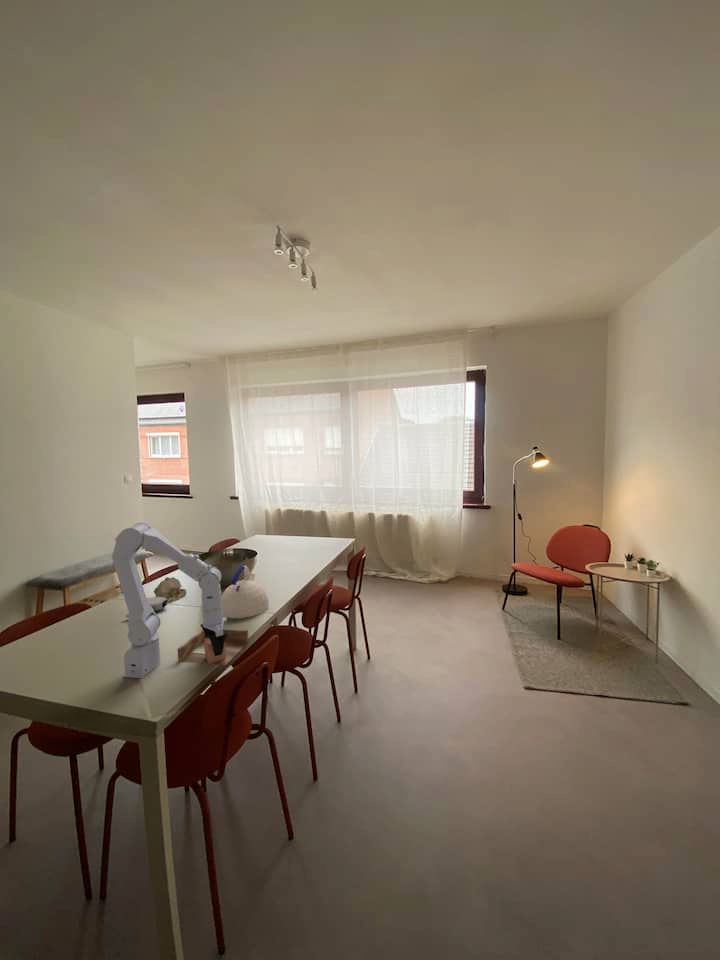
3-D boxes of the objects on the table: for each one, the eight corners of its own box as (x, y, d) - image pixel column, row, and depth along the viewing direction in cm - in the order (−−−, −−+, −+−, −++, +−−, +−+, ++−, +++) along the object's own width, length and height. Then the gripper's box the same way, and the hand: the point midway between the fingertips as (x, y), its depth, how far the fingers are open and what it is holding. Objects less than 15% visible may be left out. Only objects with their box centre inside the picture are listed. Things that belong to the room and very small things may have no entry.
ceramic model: (162, 606, 170) (160, 583, 169) (146, 602, 176) (145, 580, 175) (190, 595, 182) (189, 574, 182) (175, 592, 188) (173, 571, 187)
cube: (225, 658, 123) (224, 639, 122) (209, 663, 120) (207, 644, 120) (221, 652, 127) (220, 634, 127) (205, 657, 124) (203, 638, 124)
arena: (225, 667, 119) (224, 652, 119) (178, 663, 122) (177, 648, 122) (248, 643, 134) (247, 629, 134) (205, 640, 137) (205, 627, 137)
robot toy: (153, 622, 156) (173, 605, 170) (152, 612, 155) (172, 595, 170) (123, 623, 156) (145, 605, 171) (122, 612, 155) (144, 595, 170)
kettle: (275, 599, 174) (273, 559, 173) (259, 619, 153) (256, 574, 152) (231, 599, 176) (229, 559, 175) (209, 618, 156) (206, 574, 154)
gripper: (232, 611, 119) (234, 655, 120) (219, 597, 131) (221, 637, 132) (207, 617, 115) (210, 662, 116) (196, 603, 127) (199, 643, 128)
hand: (215, 649), depth 123 cm, fingers open, 7 cm apart
